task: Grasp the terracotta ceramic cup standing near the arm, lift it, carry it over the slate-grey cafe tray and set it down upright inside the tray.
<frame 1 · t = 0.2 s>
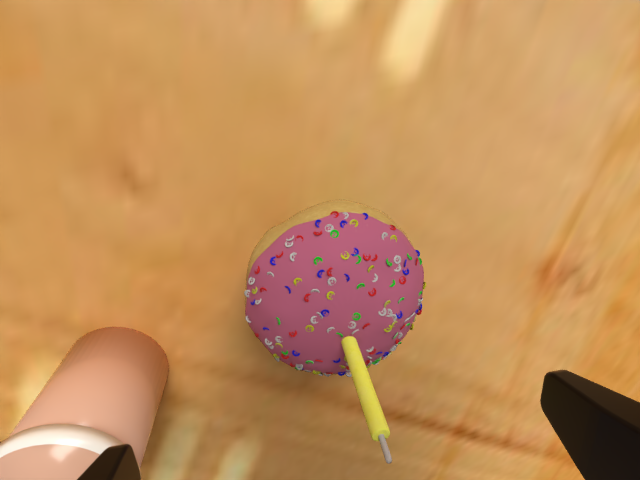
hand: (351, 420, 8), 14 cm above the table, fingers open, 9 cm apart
cupcake: (319, 254, 23), on the table
cup: (118, 367, 23), on the table
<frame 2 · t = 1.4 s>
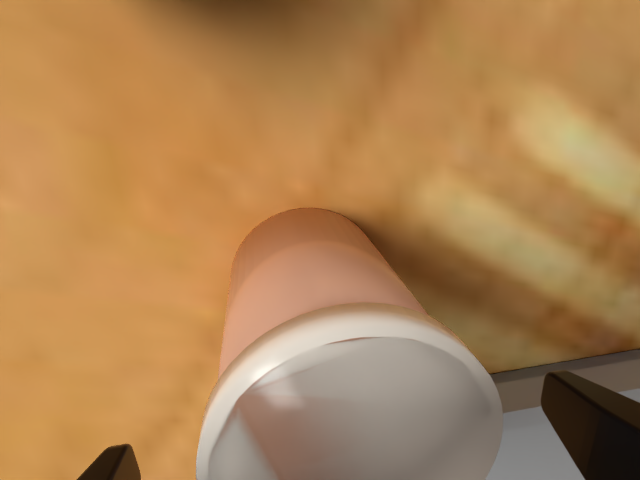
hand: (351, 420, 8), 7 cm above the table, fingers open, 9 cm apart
cup: (306, 279, 15), on the table
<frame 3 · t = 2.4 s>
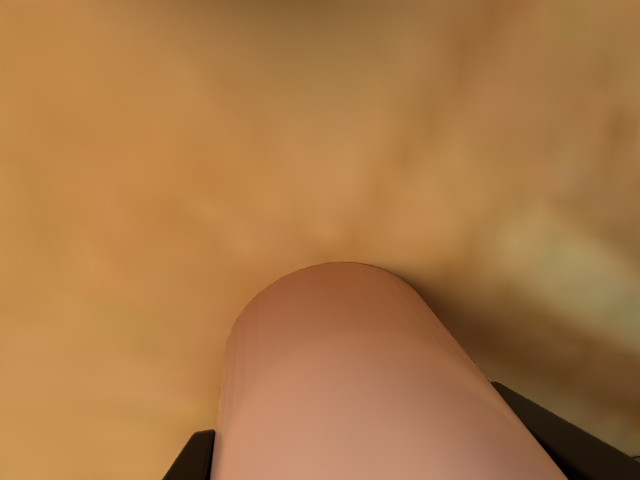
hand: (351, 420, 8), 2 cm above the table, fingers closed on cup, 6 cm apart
cup: (333, 360, 10), on the table, touching gripper
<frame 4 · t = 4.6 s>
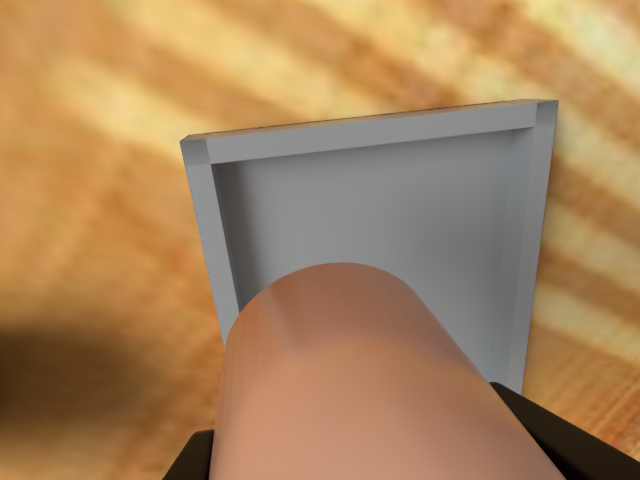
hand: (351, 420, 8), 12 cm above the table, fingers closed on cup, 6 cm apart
cup: (332, 360, 10), point 10 cm above the table, touching gripper
tray: (373, 303, 22), on the table
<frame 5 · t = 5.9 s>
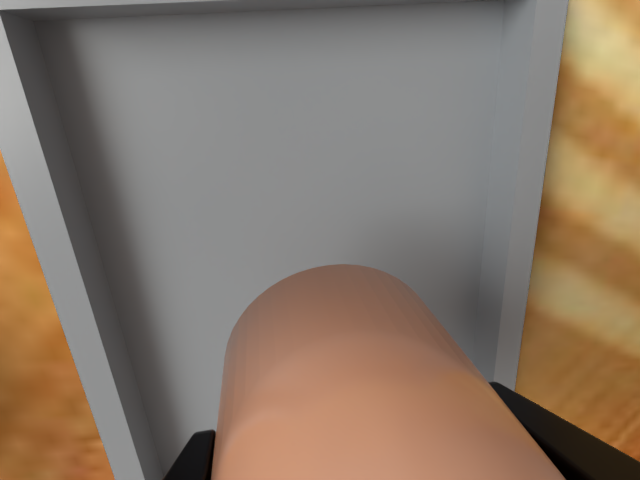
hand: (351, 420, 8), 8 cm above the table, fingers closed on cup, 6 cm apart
cup: (333, 362, 10), point 6 cm above the table, touching gripper
tray: (306, 274, 16), on the table
when the fingers open (4 cm above the table, at t = 6.9 s): cup drops 2 cm, resting on tray.
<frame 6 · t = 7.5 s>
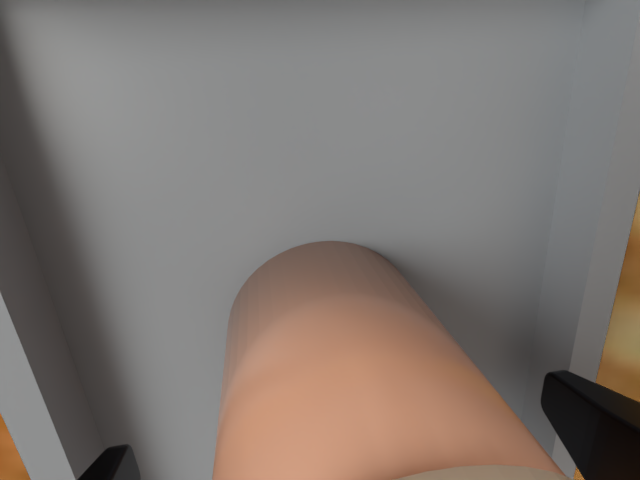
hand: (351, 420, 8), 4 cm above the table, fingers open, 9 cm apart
cup: (324, 329, 12), point 1 cm above the table, touching tray
tray: (320, 318, 12), on the table
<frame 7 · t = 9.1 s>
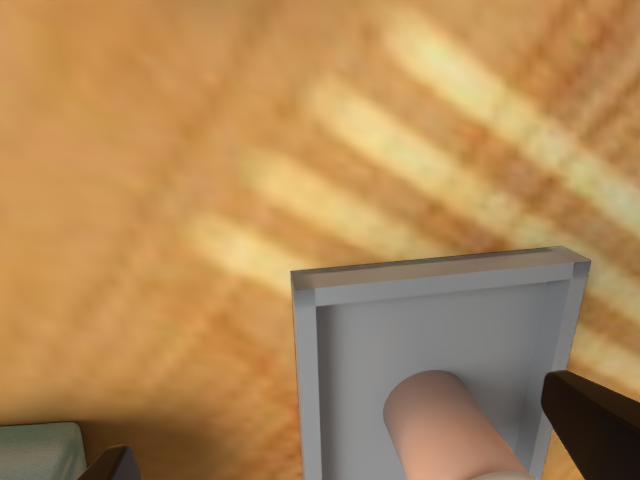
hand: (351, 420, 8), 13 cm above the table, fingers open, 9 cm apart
cup: (425, 407, 25), point 1 cm above the table, touching tray
flower pot: (38, 452, 23), on the table
tray: (421, 399, 26), on the table
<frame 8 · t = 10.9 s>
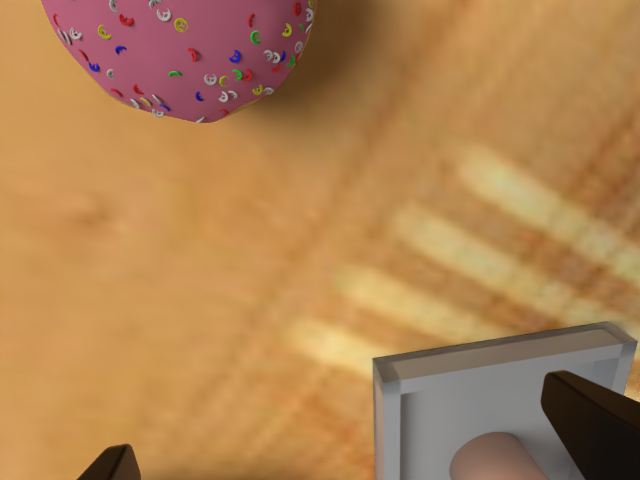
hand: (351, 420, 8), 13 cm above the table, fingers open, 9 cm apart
cupcake: (202, 10, 17), on the table
cup: (486, 462, 28), point 1 cm above the table, touching tray
tray: (481, 455, 29), on the table
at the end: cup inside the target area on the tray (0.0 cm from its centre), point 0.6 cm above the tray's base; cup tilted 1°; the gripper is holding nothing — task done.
